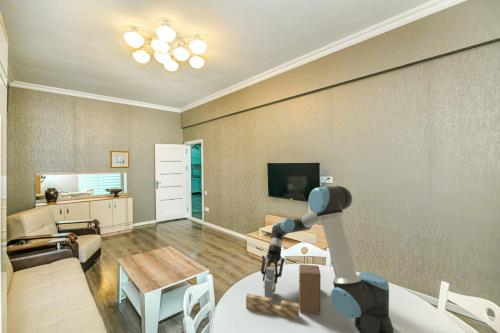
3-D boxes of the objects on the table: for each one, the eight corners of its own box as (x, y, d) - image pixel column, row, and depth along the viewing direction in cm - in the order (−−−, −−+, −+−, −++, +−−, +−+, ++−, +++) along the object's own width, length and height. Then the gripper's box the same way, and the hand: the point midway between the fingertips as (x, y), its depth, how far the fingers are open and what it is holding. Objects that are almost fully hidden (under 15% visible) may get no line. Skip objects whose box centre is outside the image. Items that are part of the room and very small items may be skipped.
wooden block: (320, 315, 109) (320, 273, 109) (299, 312, 111) (299, 271, 111) (318, 303, 119) (318, 265, 119) (299, 300, 121) (299, 263, 121)
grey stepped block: (268, 289, 130) (268, 264, 130) (275, 290, 129) (275, 265, 129) (264, 297, 122) (264, 270, 122) (272, 298, 121) (271, 272, 121)
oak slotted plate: (298, 316, 109) (298, 303, 109) (298, 319, 106) (298, 306, 106) (247, 305, 117) (247, 293, 117) (246, 308, 115) (246, 296, 115)
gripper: (290, 251, 137) (285, 293, 122) (262, 248, 143) (254, 288, 127) (288, 246, 132) (283, 288, 117) (260, 242, 138) (251, 283, 122)
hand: (268, 288), depth 122 cm, fingers closed on grey stepped block, 4 cm apart
